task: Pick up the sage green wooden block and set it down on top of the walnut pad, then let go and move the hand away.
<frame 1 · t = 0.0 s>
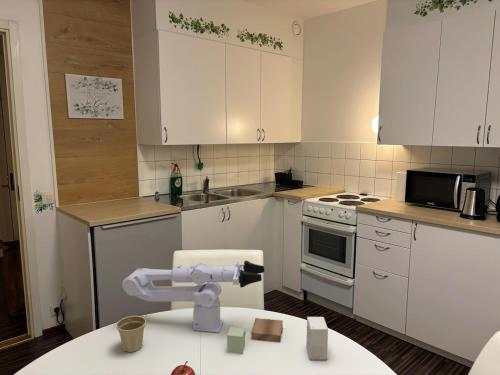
hand: (262, 273, 131), 22 cm above the table, tool horizontal, fingers open, 7 cm apart
flower pot: (132, 347, 124), on the table
small box: (316, 353, 122), on the table
sage block: (236, 348, 124), on the table
walnut pad: (267, 334, 133), on the table
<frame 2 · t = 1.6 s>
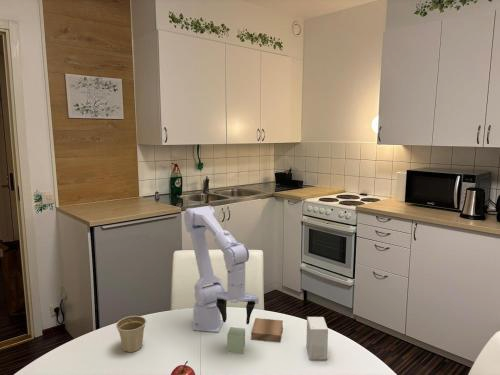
hand: (236, 321, 122), 9 cm above the table, tool pointing down, fingers open, 7 cm apart
nothing on the table moved.
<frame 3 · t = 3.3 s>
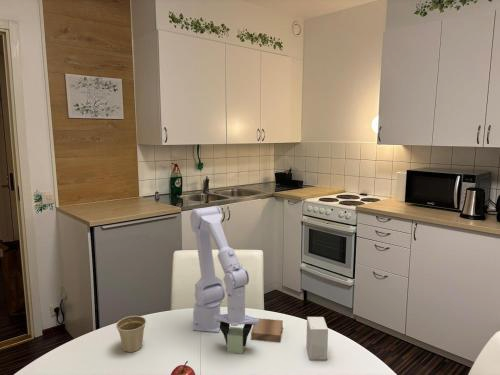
hand: (236, 343, 124), 2 cm above the table, tool pointing down, fingers closed on sage block, 5 cm apart
sage block: (236, 348, 124), on the table, touching gripper
everything else where it was.
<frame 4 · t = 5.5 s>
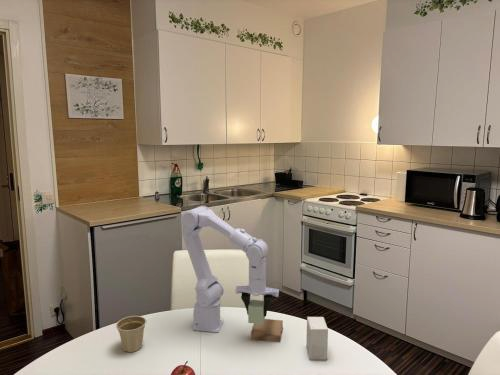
hand: (256, 314, 128), 9 cm above the table, tool pointing down, fingers closed on sage block, 5 cm apart
sage block: (256, 319, 128), point 7 cm above the table, touching gripper
everything else where it was.
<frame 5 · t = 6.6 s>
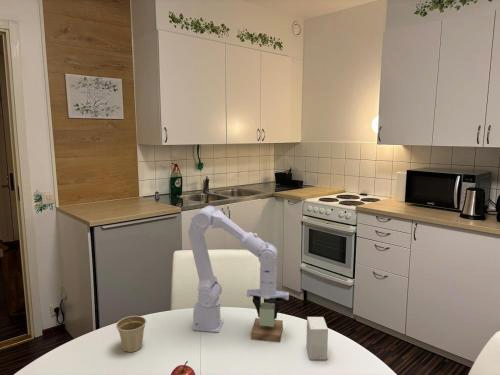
hand: (267, 316, 132), 6 cm above the table, tool pointing down, fingers closed on sage block, 5 cm apart
sage block: (267, 322, 132), point 4 cm above the table, touching gripper
everything else where it was.
when the fingers open (6 cm above the table, at t = 7.6 s): sage block drops 1 cm, resting on walnut pad.
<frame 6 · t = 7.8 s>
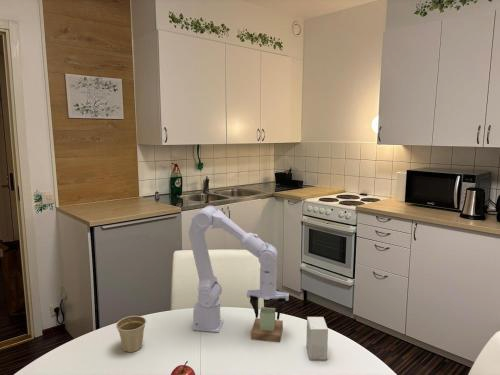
hand: (267, 317, 132), 6 cm above the table, tool pointing down, fingers open, 7 cm apart
sage block: (267, 326, 133), point 2 cm above the table, touching walnut pad
walnut pad: (267, 334, 133), on the table, touching sage block
everything else where it was.
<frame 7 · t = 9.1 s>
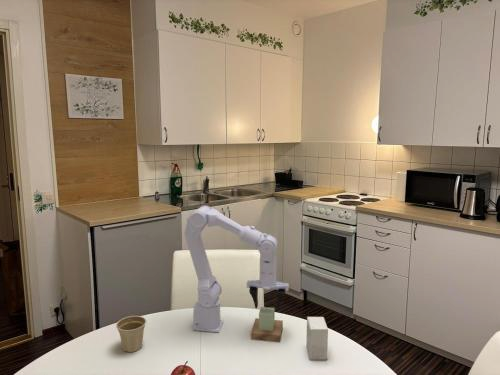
hand: (267, 307, 132), 9 cm above the table, tool pointing down, fingers open, 7 cm apart
nothing on the table moved.
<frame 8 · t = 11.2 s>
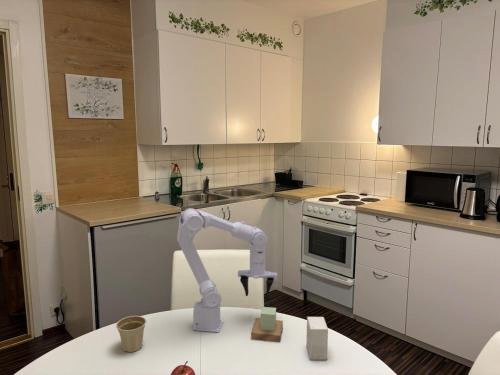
hand: (257, 295, 141), 9 cm above the table, tool pointing down, fingers open, 7 cm apart
nothing on the table moved.
at the end: sage block 0.3 cm off-centre on the walnut pad, point 3.0 cm above the walnut pad's base; sage block tilted 0°; sage block touching walnut pad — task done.
